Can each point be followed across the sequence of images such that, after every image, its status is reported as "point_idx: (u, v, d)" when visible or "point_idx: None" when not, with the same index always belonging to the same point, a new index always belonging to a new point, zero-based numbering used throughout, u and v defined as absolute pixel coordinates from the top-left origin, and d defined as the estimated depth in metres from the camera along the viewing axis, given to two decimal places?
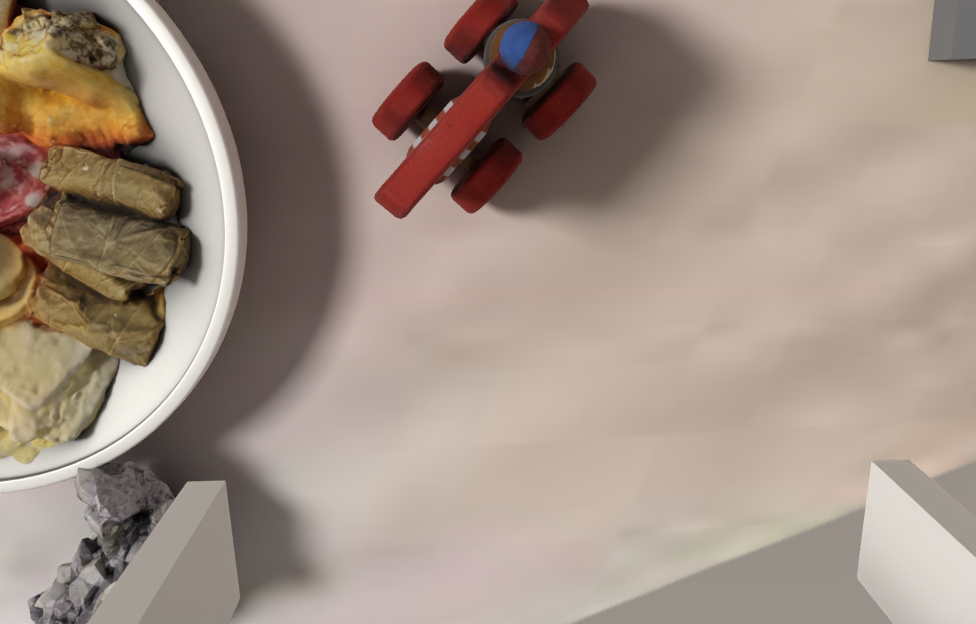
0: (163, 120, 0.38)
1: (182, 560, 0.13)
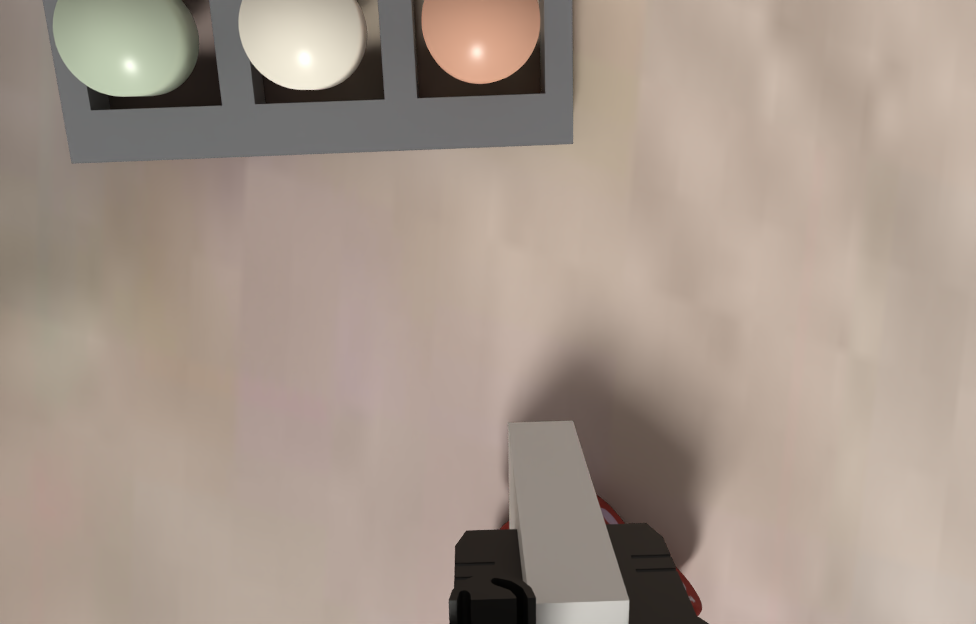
0: None
1: (552, 480, 0.16)
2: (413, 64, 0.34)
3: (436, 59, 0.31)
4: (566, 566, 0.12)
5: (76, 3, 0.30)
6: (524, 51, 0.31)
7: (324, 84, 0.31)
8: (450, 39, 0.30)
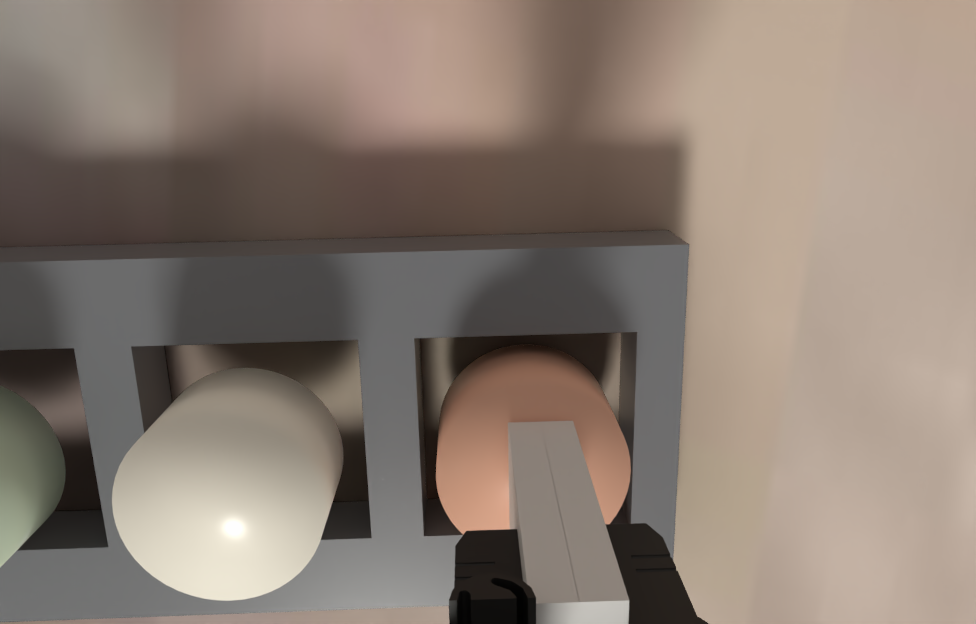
0: None
1: (551, 480, 0.16)
2: (419, 490, 0.21)
3: (458, 526, 0.19)
4: (566, 566, 0.12)
5: None
6: None
7: (264, 591, 0.18)
8: (483, 499, 0.19)
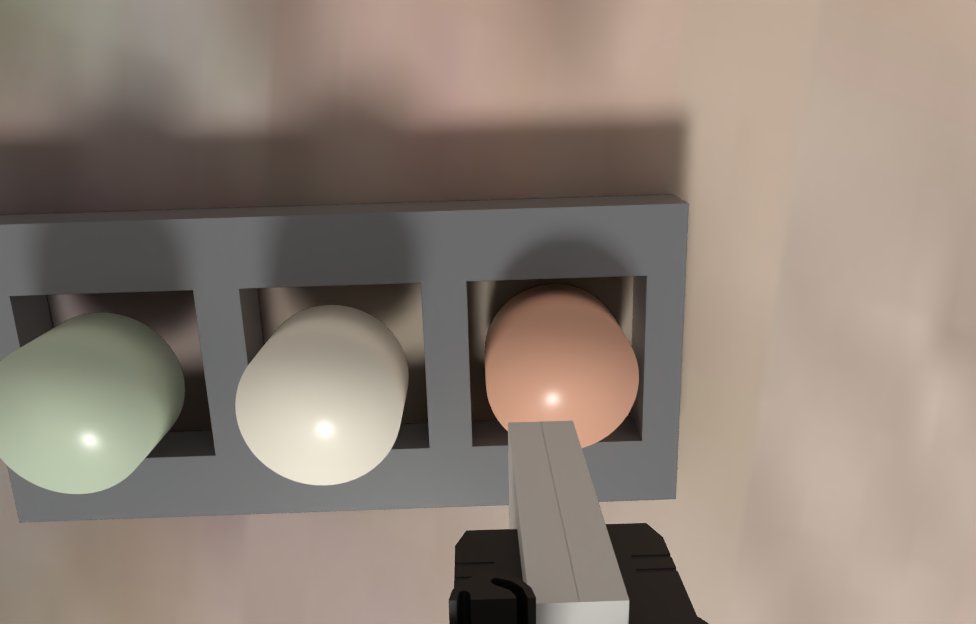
0: None
1: (552, 480, 0.16)
2: (468, 407, 0.25)
3: (503, 424, 0.24)
4: (566, 566, 0.12)
5: (12, 382, 0.21)
6: (616, 416, 0.24)
7: (352, 478, 0.23)
8: (523, 402, 0.24)
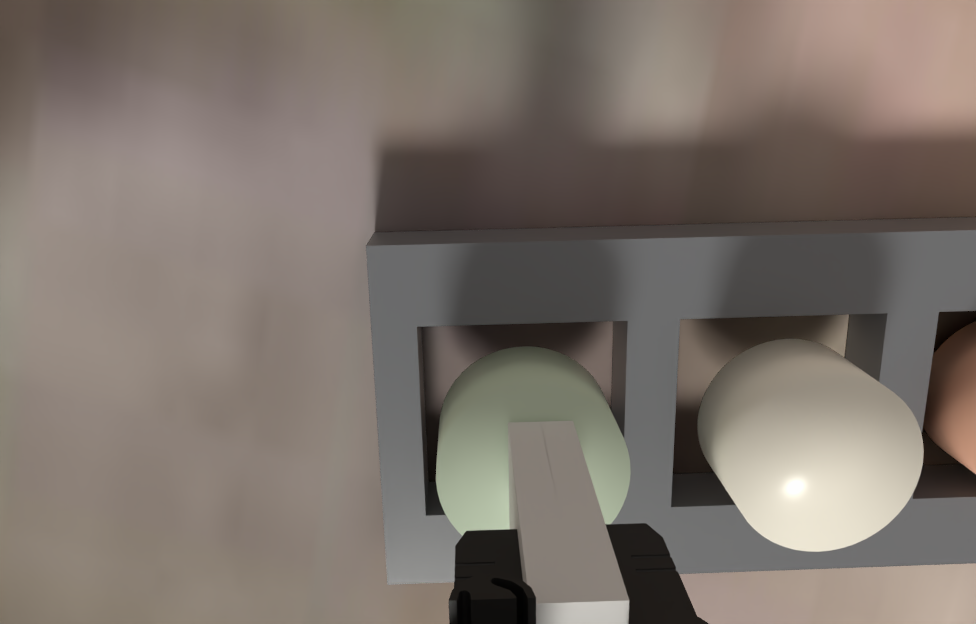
0: None
1: (552, 480, 0.16)
2: None
3: None
4: (566, 566, 0.12)
5: (478, 432, 0.18)
6: None
7: (849, 543, 0.19)
8: None
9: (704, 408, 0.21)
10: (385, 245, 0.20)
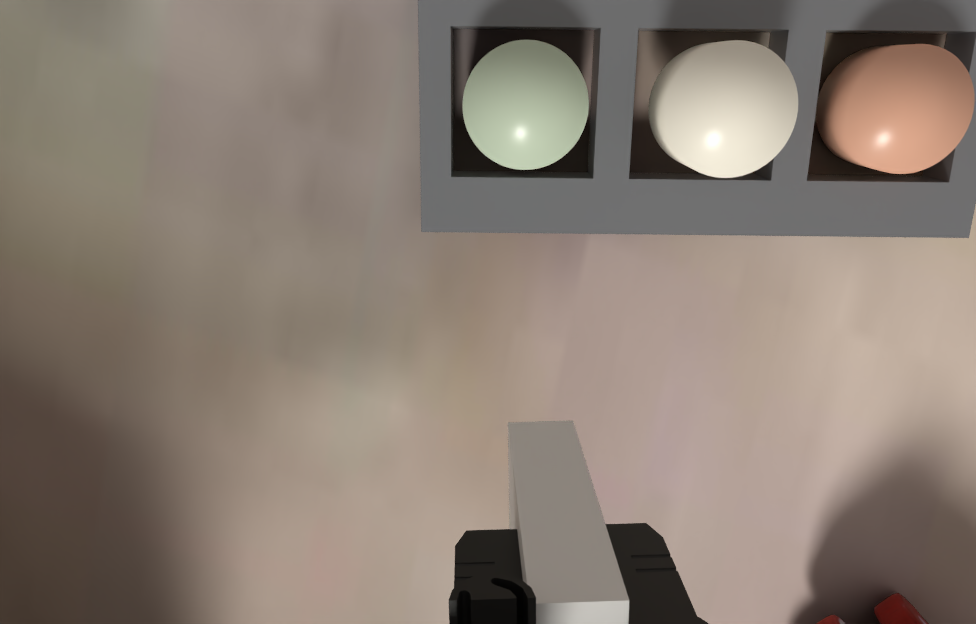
0: None
1: (551, 480, 0.15)
2: (810, 144, 0.30)
3: (854, 147, 0.29)
4: (566, 566, 0.12)
5: (491, 73, 0.28)
6: (949, 144, 0.29)
7: (746, 173, 0.28)
8: (874, 128, 0.29)
9: (653, 92, 0.29)
10: None
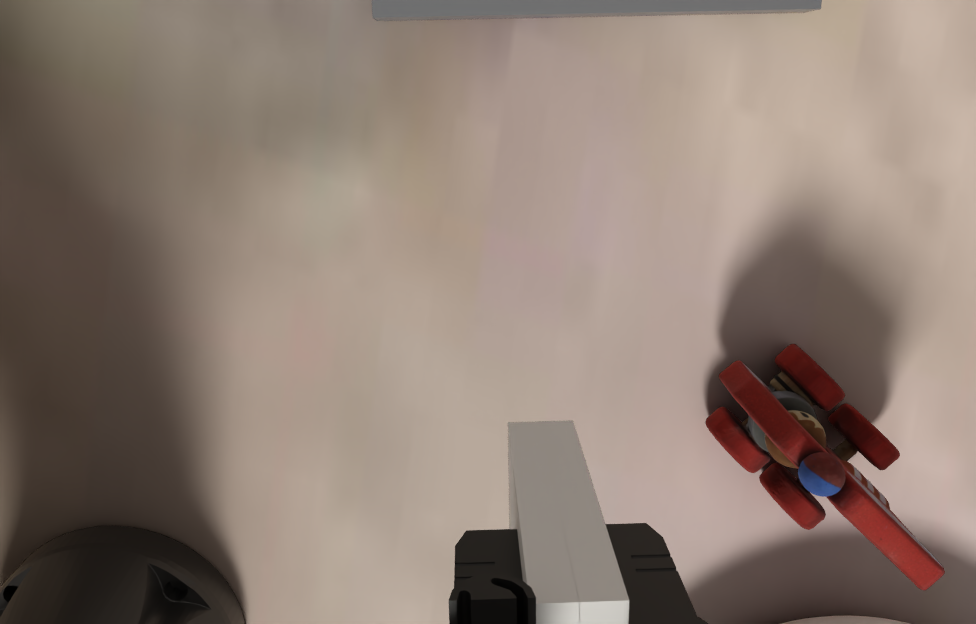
0: None
1: (552, 480, 0.15)
2: None
3: None
4: (566, 566, 0.12)
5: None
6: None
7: None
8: None
9: None
10: None
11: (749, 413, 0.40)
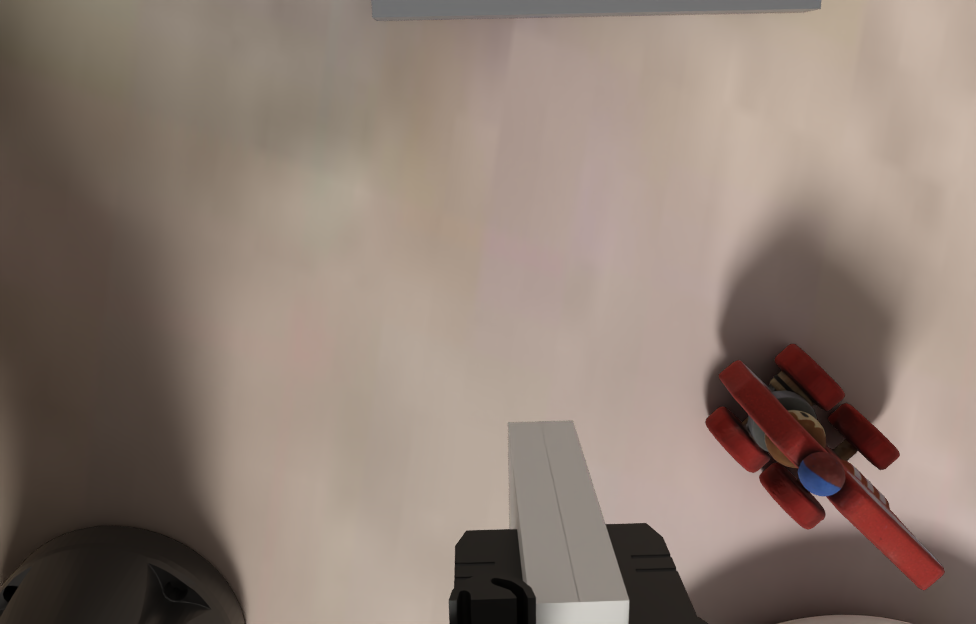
0: None
1: (552, 480, 0.16)
2: None
3: None
4: (566, 566, 0.12)
5: None
6: None
7: None
8: None
9: None
10: None
11: (749, 413, 0.40)
